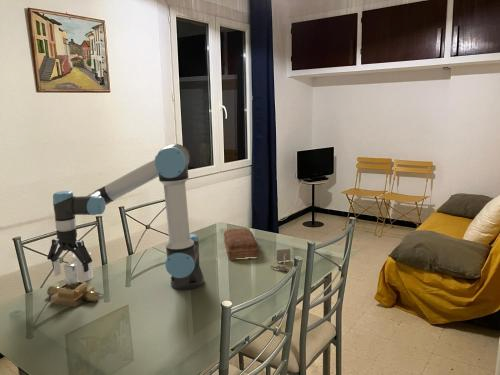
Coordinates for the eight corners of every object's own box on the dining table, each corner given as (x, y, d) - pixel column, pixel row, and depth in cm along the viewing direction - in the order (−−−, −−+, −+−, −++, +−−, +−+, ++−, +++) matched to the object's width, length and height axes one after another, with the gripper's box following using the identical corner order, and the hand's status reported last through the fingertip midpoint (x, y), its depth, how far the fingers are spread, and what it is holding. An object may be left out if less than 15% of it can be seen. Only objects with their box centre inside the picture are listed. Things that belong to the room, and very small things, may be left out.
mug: (72, 285, 175) (69, 261, 173) (64, 280, 181) (61, 256, 178) (96, 277, 184) (94, 253, 181) (88, 272, 189) (86, 249, 187)
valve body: (105, 294, 166) (104, 282, 165) (87, 308, 155) (86, 294, 154) (61, 288, 172) (59, 276, 171) (40, 301, 161) (38, 288, 160)
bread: (250, 241, 234) (250, 223, 231) (259, 259, 205) (259, 239, 203) (223, 243, 231) (222, 224, 229) (227, 261, 203) (227, 241, 200)
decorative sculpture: (289, 273, 188) (289, 259, 186) (269, 272, 189) (269, 258, 188) (290, 261, 203) (291, 247, 202) (272, 260, 205) (272, 247, 203)
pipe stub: (82, 289, 165) (79, 263, 163) (74, 295, 160) (71, 268, 158) (72, 288, 166) (69, 262, 164) (63, 293, 161) (60, 266, 159)
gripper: (98, 228, 158) (102, 276, 162) (48, 223, 164) (53, 270, 169) (86, 233, 151) (91, 283, 155) (34, 229, 157) (40, 277, 161)
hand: (71, 276), depth 162 cm, fingers open, 13 cm apart
